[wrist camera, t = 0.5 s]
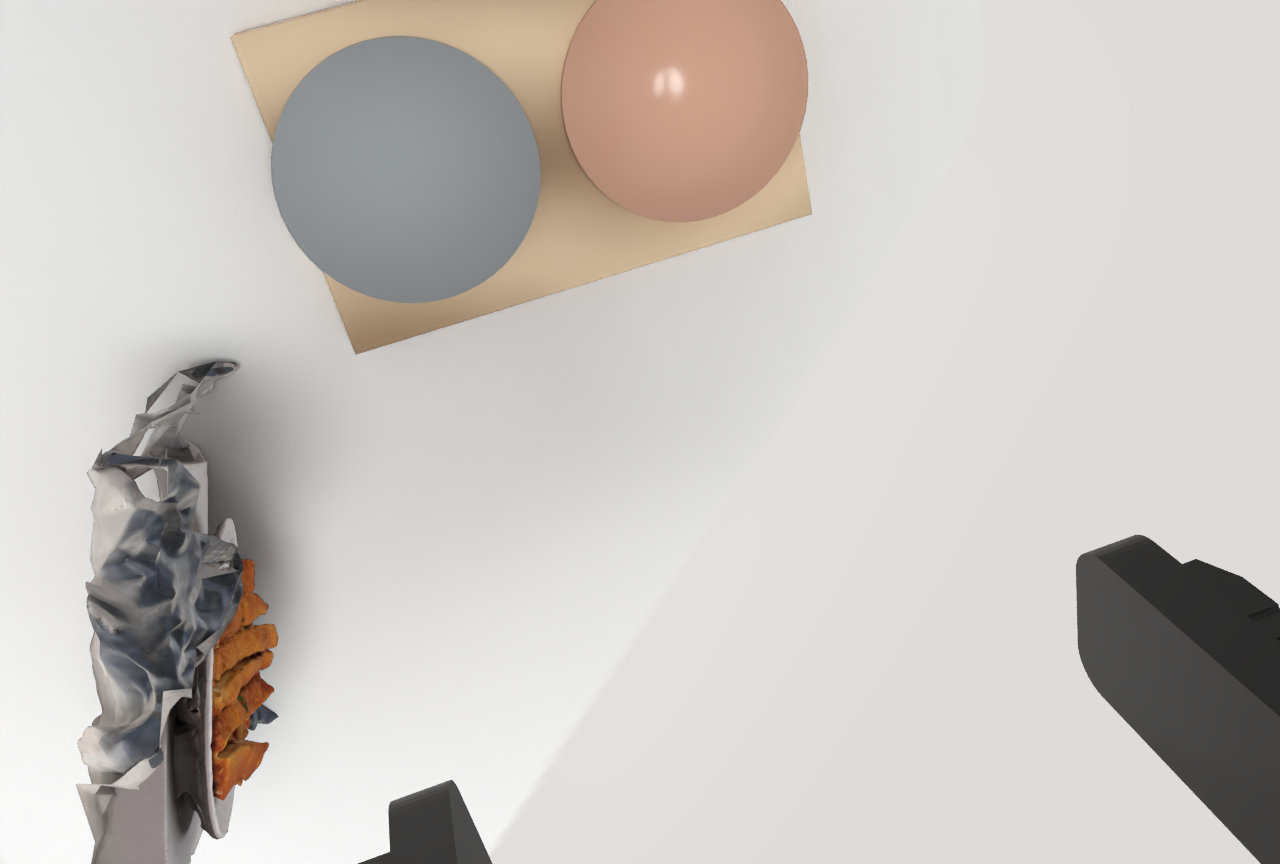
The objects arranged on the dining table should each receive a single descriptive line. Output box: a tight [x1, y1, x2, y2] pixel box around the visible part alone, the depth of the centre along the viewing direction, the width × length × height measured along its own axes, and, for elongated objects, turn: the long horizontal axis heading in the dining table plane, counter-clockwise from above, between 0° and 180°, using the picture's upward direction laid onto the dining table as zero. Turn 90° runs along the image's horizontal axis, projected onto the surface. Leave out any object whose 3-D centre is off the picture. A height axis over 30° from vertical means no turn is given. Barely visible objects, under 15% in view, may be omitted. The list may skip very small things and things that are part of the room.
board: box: [231, 0, 812, 354], centre depth 33 cm, size 10×16×1 cm, turn 104°
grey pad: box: [271, 36, 541, 303], centre depth 32 cm, size 8×8×1 cm
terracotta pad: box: [561, 0, 808, 223], centre depth 33 cm, size 8×8×1 cm
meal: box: [76, 362, 278, 864], centre depth 32 cm, size 15×4×13 cm, turn 174°
